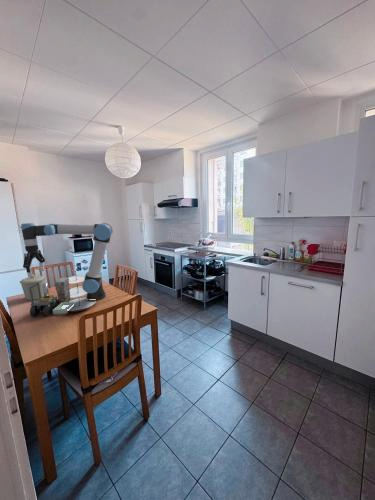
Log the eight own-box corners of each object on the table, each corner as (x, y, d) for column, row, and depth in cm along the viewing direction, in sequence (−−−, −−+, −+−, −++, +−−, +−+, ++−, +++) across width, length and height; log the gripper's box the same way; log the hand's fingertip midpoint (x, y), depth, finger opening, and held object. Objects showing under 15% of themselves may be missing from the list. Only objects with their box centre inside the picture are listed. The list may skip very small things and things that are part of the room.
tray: (74, 306, 165) (73, 301, 165) (66, 313, 153) (65, 309, 152) (62, 306, 165) (61, 302, 164) (53, 314, 152) (52, 310, 151)
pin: (50, 298, 157) (47, 283, 155) (48, 300, 154) (45, 284, 152) (46, 298, 157) (43, 283, 154) (43, 300, 154) (41, 284, 151)
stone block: (68, 305, 167) (64, 281, 163) (58, 306, 165) (54, 282, 161) (71, 299, 179) (68, 276, 176) (62, 300, 177) (59, 277, 174)
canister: (28, 303, 172) (24, 278, 168) (19, 299, 182) (14, 275, 178) (52, 295, 187) (48, 273, 184) (42, 292, 197) (38, 270, 193)
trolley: (60, 307, 164) (56, 280, 160) (48, 317, 148) (43, 287, 144) (44, 308, 163) (39, 281, 159) (30, 318, 148) (25, 288, 144)
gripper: (37, 242, 162) (42, 269, 166) (12, 248, 138) (18, 279, 142) (47, 242, 163) (52, 268, 167) (24, 247, 138) (30, 278, 142)
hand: (36, 273), depth 154 cm, fingers open, 13 cm apart
